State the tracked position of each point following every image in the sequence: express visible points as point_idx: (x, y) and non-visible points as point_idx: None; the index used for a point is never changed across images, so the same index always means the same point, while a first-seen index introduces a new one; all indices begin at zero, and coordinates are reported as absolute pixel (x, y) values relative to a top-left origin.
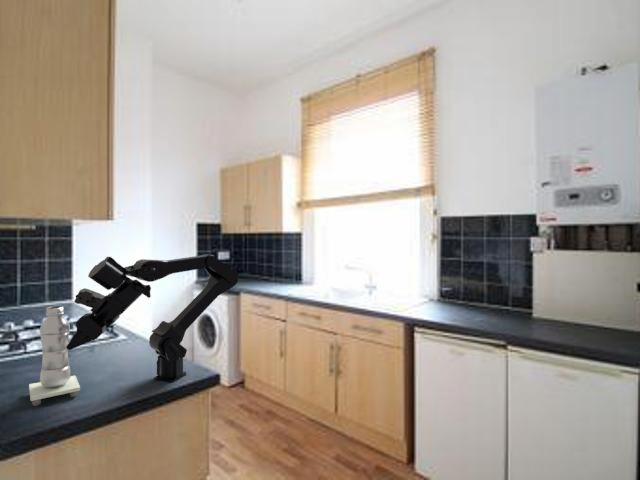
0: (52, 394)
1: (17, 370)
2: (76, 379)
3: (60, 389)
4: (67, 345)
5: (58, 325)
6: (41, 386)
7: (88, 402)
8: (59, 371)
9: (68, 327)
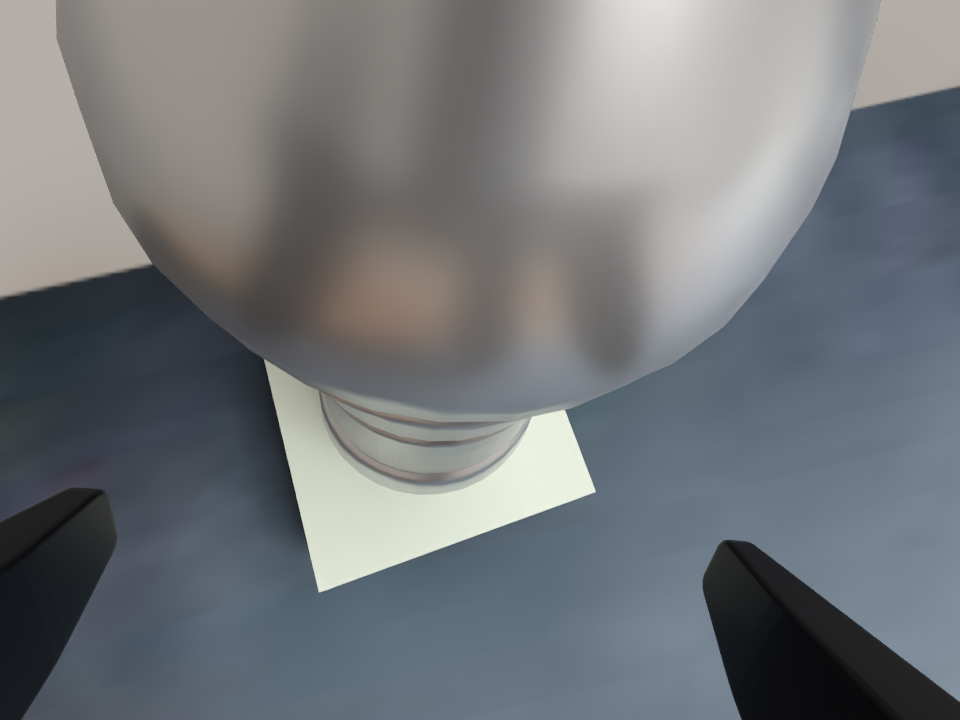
0: (279, 424)
1: (854, 153)
2: (504, 521)
3: (331, 458)
4: (22, 513)
5: (70, 56)
6: None
7: (203, 666)
8: (331, 427)
9: (376, 392)
